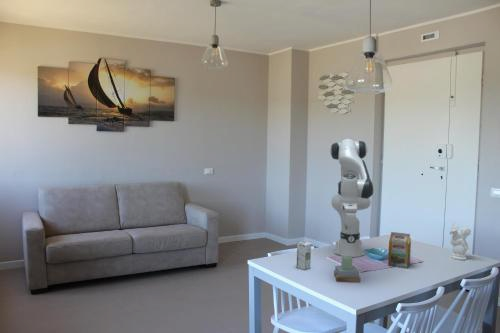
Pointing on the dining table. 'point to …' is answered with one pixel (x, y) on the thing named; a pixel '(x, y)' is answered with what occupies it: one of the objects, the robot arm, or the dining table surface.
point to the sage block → (346, 263)
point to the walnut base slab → (346, 278)
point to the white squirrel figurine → (459, 241)
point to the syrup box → (303, 255)
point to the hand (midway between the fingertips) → (347, 231)
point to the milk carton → (399, 250)
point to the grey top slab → (347, 272)
